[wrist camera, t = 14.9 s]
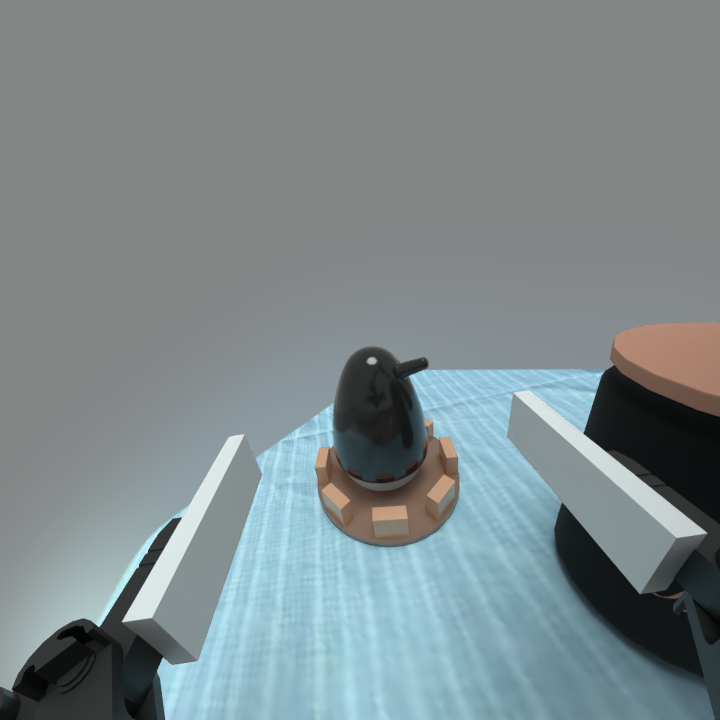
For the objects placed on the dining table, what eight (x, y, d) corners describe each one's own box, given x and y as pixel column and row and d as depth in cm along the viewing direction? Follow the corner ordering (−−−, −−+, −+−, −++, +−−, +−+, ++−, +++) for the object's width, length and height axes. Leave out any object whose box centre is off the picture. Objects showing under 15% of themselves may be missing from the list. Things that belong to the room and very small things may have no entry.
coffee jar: (528, 569, 20) (584, 367, 13) (576, 488, 26) (635, 313, 18) (776, 767, 12) (1335, 537, 5) (768, 587, 18) (1018, 347, 10)
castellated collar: (437, 423, 37) (437, 404, 35) (484, 541, 22) (487, 517, 21) (328, 432, 38) (324, 414, 36) (305, 551, 23) (297, 528, 22)
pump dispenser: (424, 521, 24) (420, 379, 17) (325, 496, 27) (292, 371, 21) (434, 443, 32) (434, 329, 26) (358, 432, 36) (341, 330, 30)
